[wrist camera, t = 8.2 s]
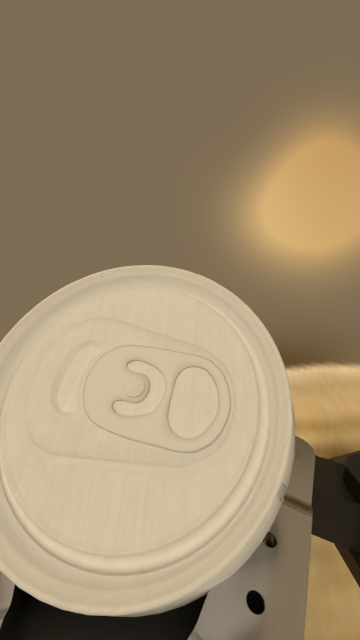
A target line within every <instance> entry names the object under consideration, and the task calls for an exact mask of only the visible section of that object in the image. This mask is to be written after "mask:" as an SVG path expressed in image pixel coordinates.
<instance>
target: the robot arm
mask: <svg viewBox="0 0 360 640" xmlns="http://www.w3.org/2000/svg"><path fill="white" fill-rule="evenodd" d="M311 534H313V535H315V536H318V537H320V538H323V539H325V540H327V541H330V542H332V543H334V544H335V546H336V548H337V549H338V551H339V553H340V555H341V556H342V558H343V560H344V561H345V563H346V565H347V567H348V568H349V570H350V572H351V573H352V575H353V577H354V578H355V580H356V582H357V584H358V585H359V587H360V454H353V455H350V456H349V457H348V458H347V461H346V465H344V464H341V463H337V462H334V461H330V460H327V459H324V458H321V457H319V456H316V455H315V453H314V450H313V449H312V447H311V446H310V445H309V444H308V443H307V442H306V441H304V440H303V439H301V438H299V437H297V436H295V450H294V460H293V465H292V471H291V477H290V481H289V484H288V487H287V490H286V494H285V497H284V500H283V502H282V505H281V507H280V509H279V512H278V514H277V516H276V518H275V521H274V522H273V524H272V526H271V527H270V529H269V531H268V532H267V534H266V536H265V537H264V539H263V541H262V542H261V544H260V545H259V546H258V547H257V549H256V550H255V551H254V552H253V554H252V555H251V556H250V558H249V559H248V560H247V561H246V562H245V563H244V564H243V565H242V566H241V567H240V568H239V569H238V570H237V571H236V572H235V573H234V574H232V575H231V576H230V577H229V578H227V579H226V580H224V581H222V582H221V583H219V584H217V585H216V586H214V587H212V588H211V589H209V592H208V594H206V595H204V596H202V597H200V598H198V599H196V600H194V601H192V602H190V603H189V604H187V605H185V606H182V607H178V608H175V609H172V610H169V611H166V612H163V613H159V614H152V615H146V616H139V617H119V616H98V615H85V614H80V613H75V612H71V611H66V610H62V609H60V608H57V607H55V606H52V605H50V604H47V603H45V602H42V601H40V600H38V599H36V598H35V597H33V596H32V595H30V594H28V593H27V592H25V591H24V590H22V589H21V588H19V587H18V586H17V585H16V584H14V583H13V582H12V581H11V580H10V579H9V578H8V577H7V576H6V575H5V574H3V573H2V572H1V571H0V640H304V628H305V614H306V600H307V586H308V572H309V558H310V544H311Z"/></svg>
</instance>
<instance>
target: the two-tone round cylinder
mask: <svg viewBox="0 0 360 640" xmlns="http://www.w3.org/2000/svg"><path fill="white" fill-rule="evenodd" d="M294 450H295V420H294V411H293V405H292V399H291V393H290V387H289V381H288V377H287V374H286V370H285V367H284V364H283V361H282V358H281V356H280V354H279V351H278V349H277V347H276V345H275V343H274V341H273V339H272V338H271V336H270V334H269V332H268V331H267V329H266V328H265V326H264V325H263V324H262V322H261V321H260V319H259V318H258V317H257V316H256V315H255V314H254V313H253V311H252V310H251V309H250V308H249V307H248V306H247V305H246V304H245V303H244V302H243V301H242V300H240V299H239V298H238V297H237V296H236V295H234V294H233V293H231V292H230V291H229V290H227V289H226V288H224V287H223V286H221V285H219V284H217V283H216V282H214V281H212V280H210V279H208V278H206V277H203V276H201V275H198V274H195V273H192V272H189V271H186V270H182V269H178V268H173V267H166V266H155V265H137V266H127V267H119V268H114V269H110V270H105V271H102V272H99V273H95V274H92V275H89V276H87V277H84V278H82V279H79V280H77V281H75V282H73V283H71V284H69V285H67V286H65V287H63V288H61V289H60V290H58V291H57V292H55V293H53V294H51V295H50V296H49V297H47V298H46V299H44V300H43V301H42V302H40V303H39V304H38V305H36V306H35V307H34V308H33V309H32V310H30V311H29V312H28V313H27V314H26V315H25V316H24V317H23V318H22V319H21V320H20V321H19V322H18V323H17V324H16V325H15V326H14V327H13V328H12V329H11V330H10V332H9V333H8V334H7V335H6V336H5V337H4V339H3V340H2V341H1V343H0V571H1V572H2V573H3V574H5V575H6V576H7V577H8V578H9V579H10V580H11V581H12V582H13V583H14V584H16V585H17V586H18V587H19V588H21V589H22V590H24V591H25V592H27V593H28V594H30V595H32V596H33V597H35V598H36V599H38V600H40V601H42V602H45V603H47V604H50V605H52V606H55V607H57V608H60V609H62V610H66V611H71V612H75V613H80V614H85V615H98V616H119V617H139V616H146V615H152V614H159V613H163V612H166V611H169V610H172V609H175V608H178V607H182V606H185V605H187V604H189V603H190V602H192V601H194V600H196V599H198V598H200V597H202V596H204V595H206V594H208V592H209V589H211V588H212V587H214V586H216V585H217V584H219V583H221V582H222V581H224V580H226V579H227V578H229V577H230V576H231V575H232V574H234V573H235V572H236V571H237V570H238V569H239V568H240V567H241V566H242V565H243V564H244V563H245V562H246V561H247V560H248V559H249V558H250V556H251V555H252V554H253V552H254V551H255V550H256V549H257V547H258V546H259V545H260V544H261V542H262V541H263V539H264V537H265V536H266V534H267V532H268V531H269V529H270V527H271V526H272V524H273V522H274V521H275V518H276V516H277V514H278V512H279V509H280V507H281V505H282V502H283V500H284V497H285V494H286V490H287V487H288V484H289V481H290V477H291V471H292V465H293V460H294Z"/></svg>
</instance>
